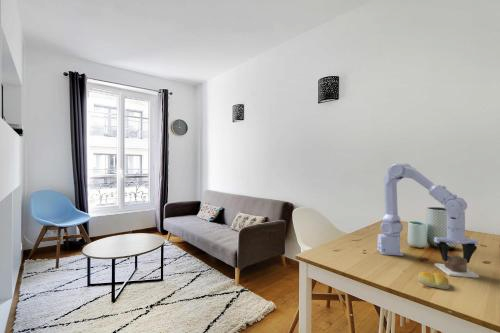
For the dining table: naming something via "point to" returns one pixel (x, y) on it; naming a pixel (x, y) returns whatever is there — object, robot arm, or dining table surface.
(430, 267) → the dining table surface
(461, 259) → the walnut block
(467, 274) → the grey tile
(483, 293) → the dining table surface
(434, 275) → the bread roll
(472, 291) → the dining table surface
